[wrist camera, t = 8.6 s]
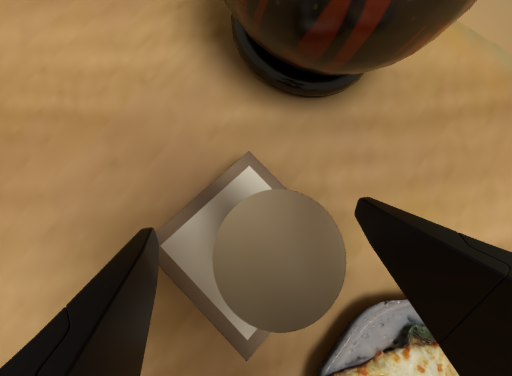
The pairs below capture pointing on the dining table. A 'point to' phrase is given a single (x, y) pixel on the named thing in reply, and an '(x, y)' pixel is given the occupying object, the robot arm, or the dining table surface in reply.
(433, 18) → the amphora vase
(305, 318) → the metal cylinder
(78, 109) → the dining table surface
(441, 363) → the food plate
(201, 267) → the plinth
